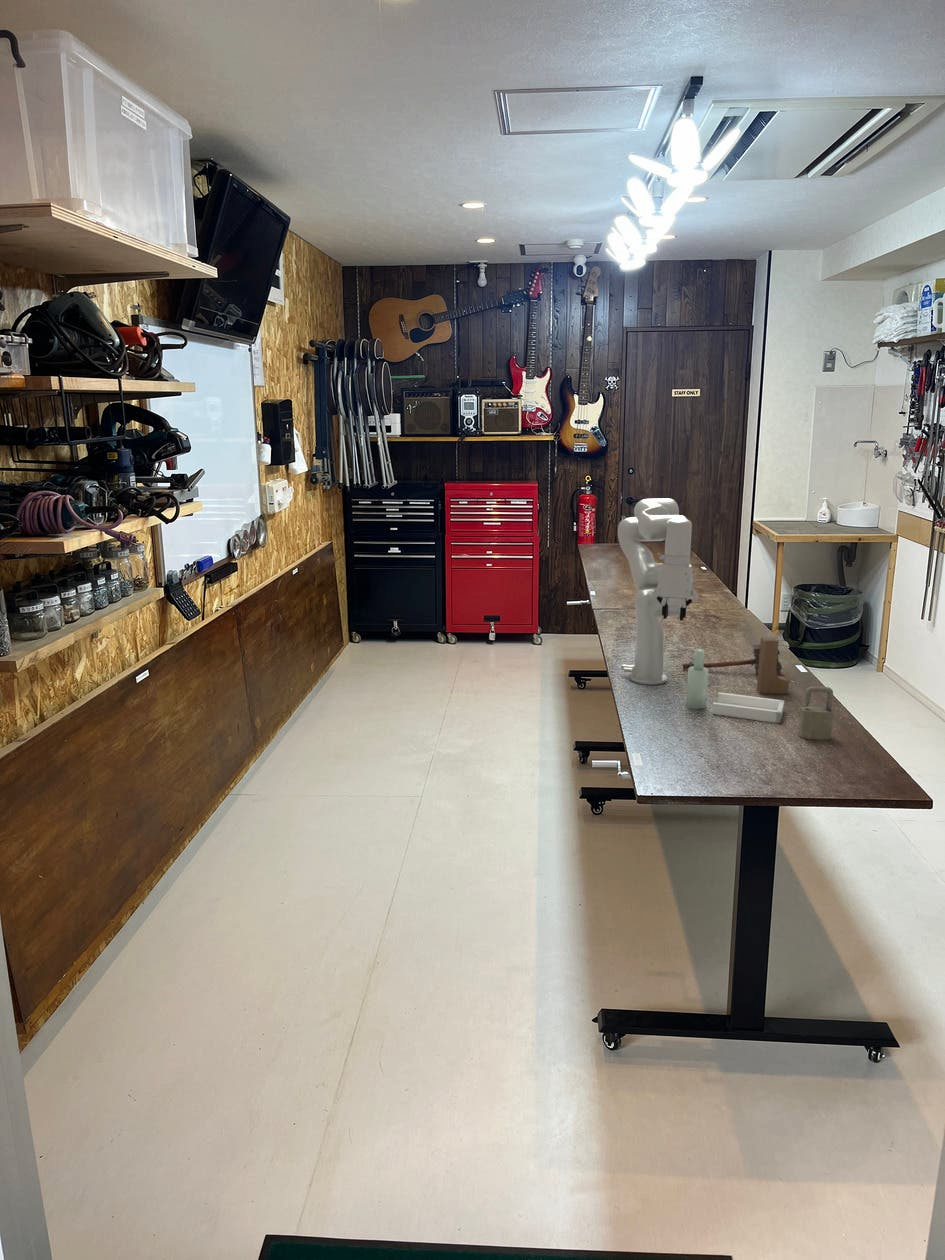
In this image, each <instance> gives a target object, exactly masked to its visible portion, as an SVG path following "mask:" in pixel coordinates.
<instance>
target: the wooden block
mask: <svg viewBox="0 0 945 1260" xmlns="http://www.w3.org/2000/svg"><path fill="white" fill-rule="evenodd" d="M759 643H760V644H759V645H760V655H759V666H758V674H757V677H756V678H757V679H756V680H757V682H756V690H757V692H758V693H760V694H761V695H786V694H787V695H788V694H789V693H788V692H789V687H790V686H789V685H790V683H789V682H790V680H788V679H787V677H785V676H782V675H777V672H776V666H777V655H778V649H779V644H780V643H779V640H778V639H777V638H776V637H774V636H773V637H772V636H765V637H763V636H762V637H760V642H759ZM778 656H779V655H778Z"/></svg>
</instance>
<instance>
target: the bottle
mask: <svg viewBox="0 0 945 1260" xmlns="http://www.w3.org/2000/svg"><path fill="white" fill-rule="evenodd" d="M705 654H706V651H705V650H704V649H703V648H697V649H694V654H693V655H694V656H693V657H694V658H693V664H694V666H692V667H689V668H688V669H687V673H688V674H687V684H686V700H685V701H686V702H685V706H686V707H687V706H688V707H687V708H689V707H690V708H689V709H692V708H695V709H694V710H703V709H706V707H707V695H708V681H709V668H705V667H704V664H705ZM702 708H703V709H702Z"/></svg>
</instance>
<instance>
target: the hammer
mask: <svg viewBox="0 0 945 1260" xmlns="http://www.w3.org/2000/svg"><path fill="white" fill-rule="evenodd" d="M752 647H753V650H752V653H753V656H754V658H750V659H745V660H735V661H722V662H721V661H720V662H709V663H705V662H704V667H705V668H707V669H709V668H710V669H711V668H712V669H713V668H722V667H733V666H734V667H735V666H745V665H751V666H754V669H755V670H754V671H756V673H758V666H759V655H760V644H754V645H753V646H752ZM779 655H780V649H779V648H778V655H777V666H776V672H777V676H782V669H783V667H782V663H781V661H780V660H779ZM692 666H694V663H693V661H691V662H688V663H683V664H682V666H681V667H682V670H688V668H689V667H692Z"/></svg>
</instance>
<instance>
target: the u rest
mask: <svg viewBox="0 0 945 1260" xmlns="http://www.w3.org/2000/svg"><path fill="white" fill-rule="evenodd" d="M784 709H785V700H784V699H783V700H782V699H776V698H767V697H761V696H760V697H758V696H751V695H744V694H735V693H728V692H727V693H726V692H718V696H717V702H713V705H712V715H714V714H718V715H717V716H722V715H725V716H724V717H729V716H730V717H731V718H737V719H738V718H739V719H745V720H752V721H753V720H754V721H760V722H766V723H774V724H781V721H782V718H783V714H784V711H785V710H784ZM730 717H729V718H730Z"/></svg>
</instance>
